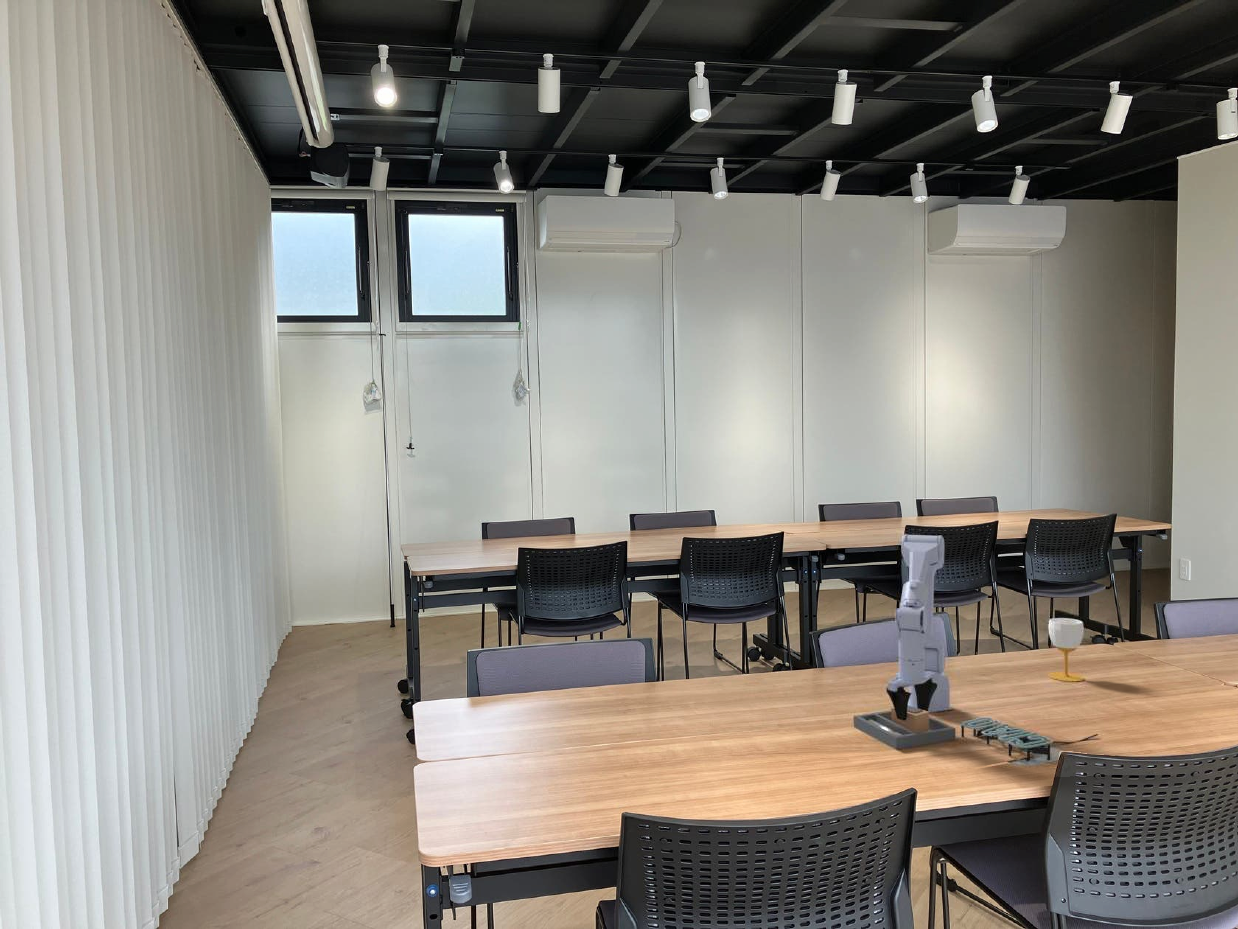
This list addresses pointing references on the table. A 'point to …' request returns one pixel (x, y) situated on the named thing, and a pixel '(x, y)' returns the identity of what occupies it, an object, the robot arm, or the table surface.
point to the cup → (1066, 643)
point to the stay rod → (884, 727)
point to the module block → (913, 719)
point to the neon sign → (1018, 741)
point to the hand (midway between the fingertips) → (912, 716)
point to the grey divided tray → (903, 731)
